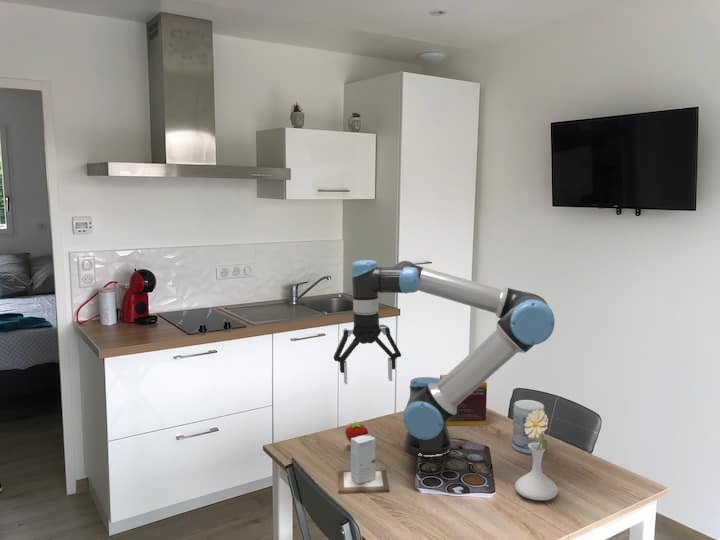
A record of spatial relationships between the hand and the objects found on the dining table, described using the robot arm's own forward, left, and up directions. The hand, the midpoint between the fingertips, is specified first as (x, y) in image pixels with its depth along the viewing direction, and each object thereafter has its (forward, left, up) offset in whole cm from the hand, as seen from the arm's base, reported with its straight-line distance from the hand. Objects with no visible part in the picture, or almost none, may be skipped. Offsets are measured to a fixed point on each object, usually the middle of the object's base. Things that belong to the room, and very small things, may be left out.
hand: (368, 381), depth 182 cm
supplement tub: (-52, -7, -26) cm, 58 cm away
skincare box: (+2, +13, -25) cm, 28 cm away
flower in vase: (-45, +23, -26) cm, 57 cm away
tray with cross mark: (+2, +13, -26) cm, 29 cm away
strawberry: (+3, -10, -26) cm, 28 cm away
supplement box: (-36, -32, -26) cm, 55 cm away
